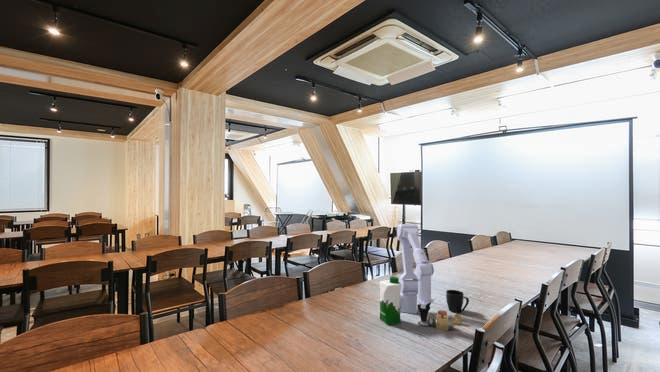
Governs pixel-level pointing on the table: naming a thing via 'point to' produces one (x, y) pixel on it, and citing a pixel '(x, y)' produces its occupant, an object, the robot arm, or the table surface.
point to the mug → (456, 301)
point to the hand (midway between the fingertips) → (424, 319)
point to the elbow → (457, 320)
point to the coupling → (426, 320)
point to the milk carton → (390, 301)
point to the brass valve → (442, 321)
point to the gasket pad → (423, 325)
